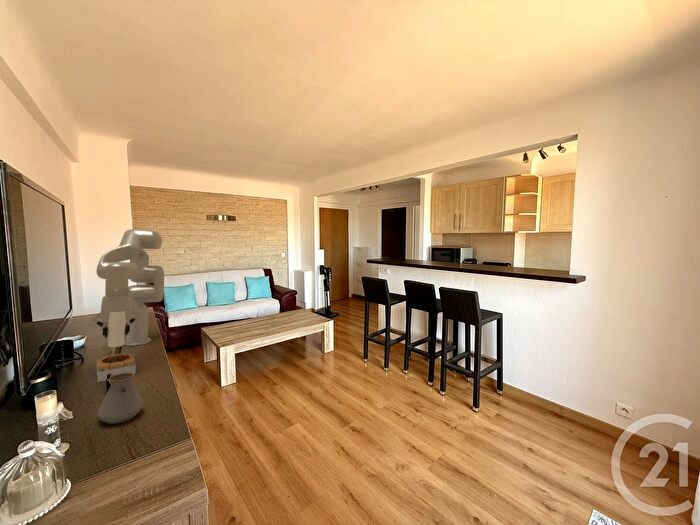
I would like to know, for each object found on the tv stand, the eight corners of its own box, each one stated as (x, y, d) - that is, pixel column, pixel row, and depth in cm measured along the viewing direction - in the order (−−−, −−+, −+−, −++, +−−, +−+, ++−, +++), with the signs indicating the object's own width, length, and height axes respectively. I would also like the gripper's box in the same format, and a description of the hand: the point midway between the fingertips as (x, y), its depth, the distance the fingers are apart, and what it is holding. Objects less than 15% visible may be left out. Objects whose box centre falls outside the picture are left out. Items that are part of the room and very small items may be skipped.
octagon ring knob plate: (96, 368, 125) (96, 356, 125) (131, 362, 133) (131, 350, 133) (97, 382, 113) (97, 368, 113) (135, 374, 121) (135, 361, 121)
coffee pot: (97, 414, 92) (98, 368, 92) (141, 403, 100) (142, 360, 99) (95, 451, 76) (95, 395, 75) (148, 435, 83) (149, 384, 83)
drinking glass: (104, 345, 122) (105, 310, 122) (124, 342, 127) (125, 308, 127) (107, 349, 117) (108, 312, 117) (127, 346, 122) (128, 311, 122)
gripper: (141, 290, 130) (140, 330, 131) (89, 293, 118) (88, 336, 119) (143, 293, 124) (142, 334, 125) (89, 295, 113) (88, 341, 114)
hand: (116, 335), depth 122 cm, fingers closed on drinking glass, 6 cm apart
